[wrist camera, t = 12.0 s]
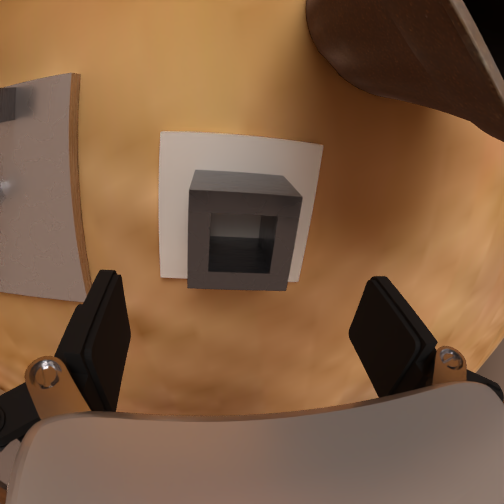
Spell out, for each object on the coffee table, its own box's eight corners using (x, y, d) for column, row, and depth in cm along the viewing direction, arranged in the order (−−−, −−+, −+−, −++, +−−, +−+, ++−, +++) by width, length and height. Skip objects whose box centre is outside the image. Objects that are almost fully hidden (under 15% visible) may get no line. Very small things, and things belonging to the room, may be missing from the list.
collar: (195, 169, 20) (188, 189, 15) (283, 175, 20) (302, 197, 16) (192, 250, 22) (187, 288, 18) (272, 253, 23) (286, 290, 19)
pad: (162, 131, 19) (160, 132, 18) (319, 144, 20) (323, 145, 20) (162, 272, 24) (160, 277, 23) (296, 276, 25) (298, 282, 25)
